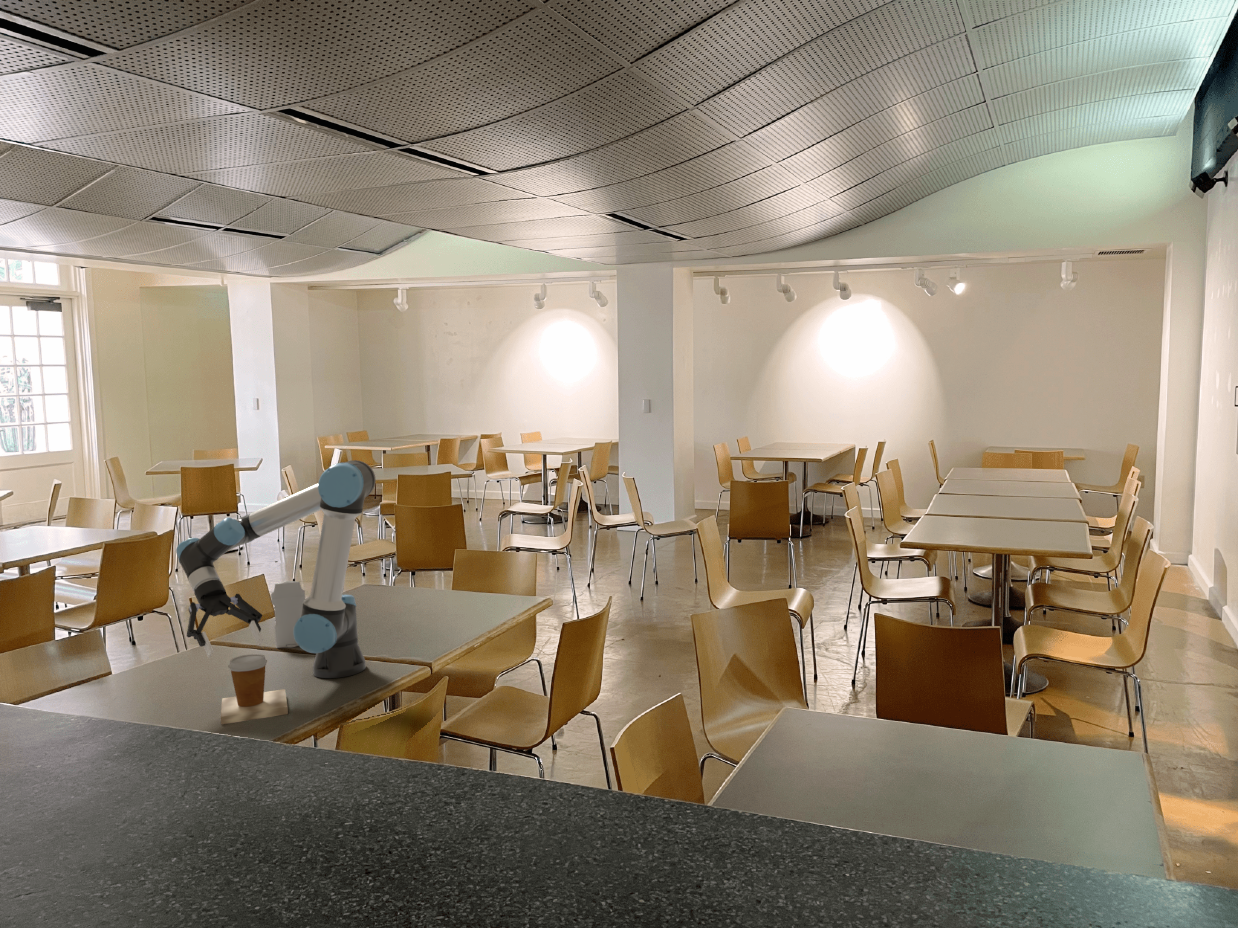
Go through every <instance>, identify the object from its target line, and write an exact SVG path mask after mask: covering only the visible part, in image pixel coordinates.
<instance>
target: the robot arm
mask: <svg viewBox="0 0 1238 928" xmlns="http://www.w3.org/2000/svg"><path fill="white" fill-rule="evenodd" d="M375 486H376V474H375V472H374V470H373V468H372V467H371V465H369V464H368V463H366V462H364V461H361V460H348V461H343V462H338V463H335V464H333V465H330V466H329V467H328V468H327V469H325V470H324V471H322V474H321V475H320V476H319V479H318V483H315V484H313V485H311V486H309V487H307V488H304V489H302V490H299V491H297V492H296V493H295V492H294V493H293V494H291V495H288V496H287V497H284V498H281V499H279V500H278V501H275V502H273V503H271V504H268V505H266V506H264V507H262V508H260V509H257V510H255V511H253V512H251V513H248V514H245V515H244V516H242V517H239V518H237V519H235V518H232V517H225V518H223V519H222V520H221V521H220V522H218V523H216V524H215V526H214V527H212V528H210V530H208V531H207V533H205V534H204V535H203V536H202V537H201V538H198V537H189V538H186V540H183V541H181V542H180V543H179V544H178V545H177V547H176V549H175V552H176V555H177V559H178V562H179V565H180V566H181V568H182V569H183V571H184V574H185V576H186V578H187V580H188V583H189V585H190V588H191V589H192V591H193V593H194V594H193V595H194V597H195V599H196V601H197V603H195V602H191V603H190V604H189V607H188V612H189V619H188V623H187V625H188V626H187V630H186V637H187V638H191V637H193V639H194V640H197V641H196V642H197V644H198V646H200V648H201V647H203V648H204V651H205V653H206V656H207V658H208V659H209V658H211V657H212V656H213V654H214V652H215V651H214V649H213V647H212V644H211V642H210V640H209V637H208V636H207V632H206V631H205V630H204V631H203V629H204V627H205V626H206V624H207V621H208V619H209V618H210V616H213V617H217V616H222V615H223V616H224V615H225V614H226V615H228V616H233V617H235V618H237V619H239V620H241V621H242V622H245V623H247V624H248V628H249V630H250V632H251V635H252V637H253V638H254V641H255V643H256V645H257V646H261V645H262V642H263V641H264V638H263V636H262V634H261V631H262V628H261V625H260V621H261V620H262V617H263V614H262V613H261V612H260V611H258V610H257V609H256V608H255V607H253V606H252V605H250V603H248V602H247V601H246V600H244V599H243V598H242V596H241V595H240V593H236V594H235V595H234V596H231V597H230V596H229V595H228V594H227V591H226V588H225V586H224V584H223V582H222V581H221V578H220V576H219V574H218V572H217V569H216V568H215V565H214V563H215V562H216V561H217V560H219V558H221V557H222V556H223V555H224V554H226V553H228V552H229V551H230V550H232V549H235V548H236V547H237V548H238V547H239V546H242V545H244V544H245V545H246V544H248V543H251V542H253V541H255V540H256V539H258V538H260V537H262V536H266V535H267V534H269V533H272V532H274V531H277V530H279V529H280V528H283V527H285V526H287V525H290V524H292V523H294V522H297V521H299V520H301V519H303V518H305V517H308V516H310V515H312V514H314V513H315V514H316V513H317V512H319V511H322V513H323V518H322V524H321V530H320V535H319V536H320V537H319V541H318V548H317V553H316V558H315V559H316V560H315V565H314V571H313V576H312V582H311V588H310V594H309V596H307V597H305V600H304V602H303V607H302V613H301V617H300V618H299V619H298V620H297V622H296V624H295V626H294V630H293V635H294V639H295V641H296V643H297V644H298V645H299V646H298V647H299V648H300V649H302V650H303V651H305V652H307V653H309V654H310V653H311V654H315V657H314V659H313V660H314V661H313V666H312V674H313V676H314V677H316V678H320V679H321V678H322V679H338V678H345V677H346V678H347V677H350V676H354V675H357V674H360V673H361V672H363V671H365V669H366V667H367V666H366V659H365V657H364V655H363V652H362V650H361V649H362V648H361V647H360V645H359V637H358V620H357V604H356V598H355V596H354V595H352V594H343V592H344V586H345V579H346V574H347V570H348V563H349V556H350V551H351V545H352V540H353V534H354V530H355V522H356V518H358V517H359V516H361V515H362V514H363V509H364V503H365V499H366V497H368V496H369V495H370V494H372V492H373V490H374V489H375ZM199 609H200V610H201V611H202V612H204V615H203V617H202V618H201V620H200V623H199V625H198V626H197V628H196V629H195V624H196V617H197V612H198V611H199Z"/></svg>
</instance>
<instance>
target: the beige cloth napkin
mask: <svg viewBox="0 0 1238 928" xmlns="http://www.w3.org/2000/svg"><path fill="white" fill-rule="evenodd" d="M220 707H221V708H220V710H221V711H220V723H221V726H222V725H227V724H233V723H241V722H247V721H253V720H259V719H266V718H273V717H278V716H284V715H289V712H288V709H289V708H288V701H287V694H286V689H285V688H283V689H277V690H270V691H264V698H263V702H262V703H261V704H258V705H255V706H250V707H241V706H238V703H237V698H236V695H234V696H231V697H230V696H229V697H224V698H223V697H222V698H221V706H220Z"/></svg>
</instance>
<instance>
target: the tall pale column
mask: <svg viewBox="0 0 1238 928" xmlns="http://www.w3.org/2000/svg"><path fill="white" fill-rule="evenodd" d="M270 599H271V604H272V605H273V609H274V619H275V620H274V621H275V624H274V639H275V648H276V649H284V648H296V647H300V646H299V645H298V644H297V643H296V641H295V639H294V635H293V630H294V626H295V624H296V622H297V620H298V619H299V618H300V617H301V613H302V607H303V602H304V600H305V599H306V590H305V589H303V587H302V586H301V583H300V581H293V580H285V581H282V582H278V583H274V588H273V592H271V593H270Z"/></svg>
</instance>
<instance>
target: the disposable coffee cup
mask: <svg viewBox="0 0 1238 928" xmlns="http://www.w3.org/2000/svg"><path fill="white" fill-rule="evenodd" d="M267 663H268V659H266V655H264V654H260V653H251V654H244V655H239V656H236V657H233V658H231V659H230V660H229V664H228V669H229V670H230V673H231V678H232V683H233V687H234V693H235V696H236V698H237V703H238V706H241V707H250V706H255V705H258V704H261V703H262V702H263V698H264V692H265V681H266V680H265V679H266V677H265V676H266V665H267Z"/></svg>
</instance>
